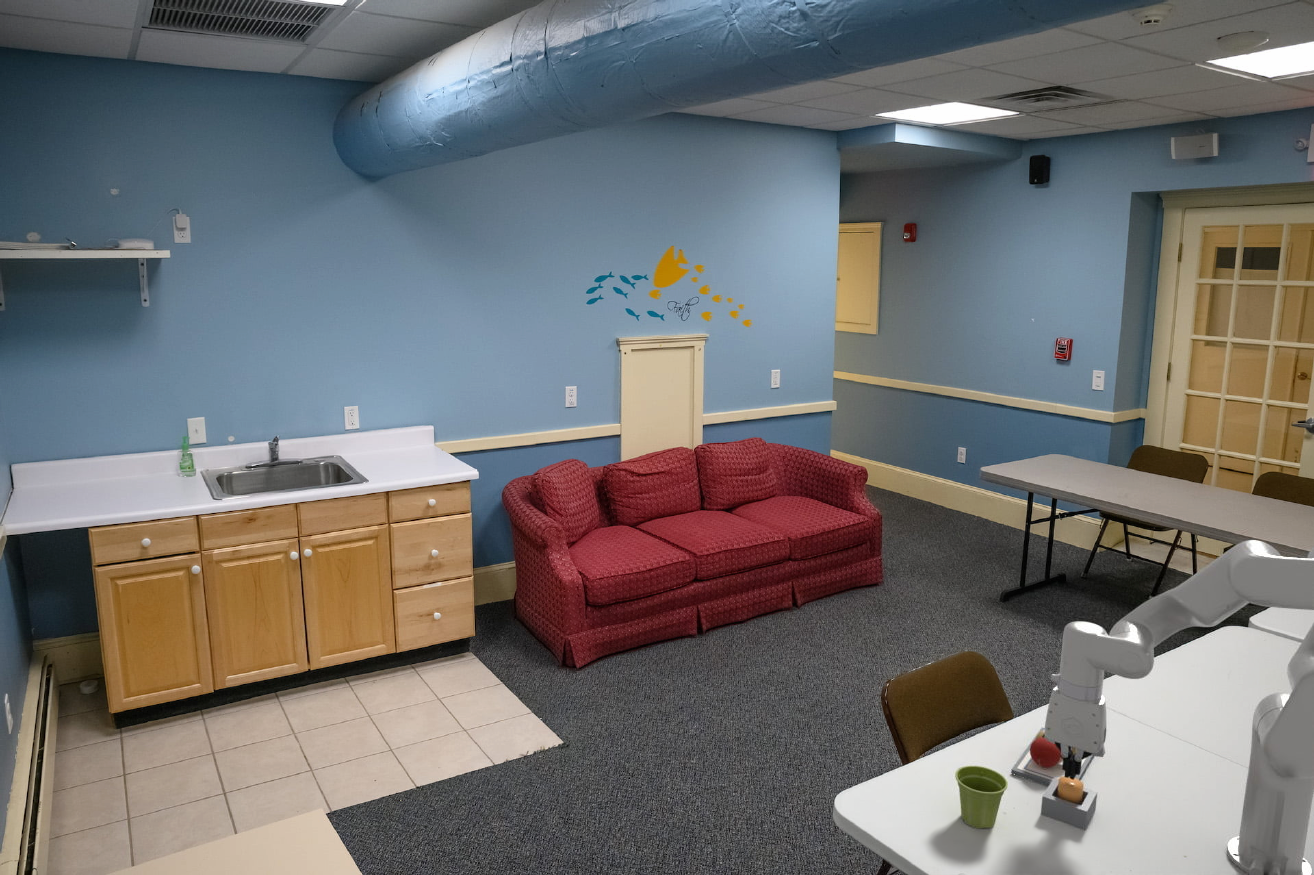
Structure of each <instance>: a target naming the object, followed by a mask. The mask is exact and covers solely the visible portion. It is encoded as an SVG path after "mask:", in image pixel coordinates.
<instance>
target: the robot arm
mask: <svg viewBox="0 0 1314 875" xmlns="http://www.w3.org/2000/svg"><path fill="white" fill-rule="evenodd" d="M1248 604H1253V605H1257V606H1261V607H1267V608H1268V607H1270V608H1279V609H1291V610H1292V609H1293V610H1308V611H1314V546H1313V547H1312V549H1311V550H1310V551H1308V554H1307V557H1306V558H1303V557H1302V558H1298V557H1286V556H1282V555H1281V553H1280V552H1279V551H1278V550H1277V549H1276V548H1275V547H1273V546H1272V545H1270V544H1268V543H1267V542H1265V541H1261V540H1257V539H1256V540H1255V539H1250V540H1244V541H1242V542H1240V543H1237V544H1236V545H1233V547H1231V548H1230V549H1228V550H1227V551H1225V552H1224V553H1223V554H1221V555H1219V556H1218V557H1217V558H1215V559H1214V560H1213V561H1211V563H1209V564H1207V565H1206V566H1204V567H1203V568H1201V569H1200V570H1199V571H1198V572H1196V573H1194V575H1192V576H1190V577H1189V578H1188V579H1186V580H1185V581H1183V582H1182V583H1180V584H1179V585H1178V586H1176V587H1174V588H1171V589H1169V590H1166V591H1165V592H1163V593H1161V594H1157V595H1156V596H1153V597H1152V598H1150V599H1148V600H1146V601H1144V602H1143V603H1142V604H1140V605H1138V606H1137V607H1135V609H1133V610H1132V611H1130V612H1129V613H1128V614H1126V615H1125V616H1124V617H1122V618H1121V619H1120V620H1119V619H1118V621H1117V622H1116V623H1115V624H1114V625H1113V627H1112V628H1111V630H1110V631H1109V633H1108V632H1107V630H1105V628H1104V627H1102V626H1100V625H1098V624H1096V623H1093V622H1089V621H1084V620H1083V621H1081V620H1080V621H1079V620H1078V621H1071V622H1069V623H1067V624H1066V625H1065V626H1064V629H1063V634H1062V635H1063V636H1062V644H1061V645H1062V646H1061V653H1060V654H1061V655H1060V665H1059V673H1057V674H1055V673H1052V674H1050V681H1052V682H1054V683H1055V684H1056V686H1055V687H1053V689H1052V691H1051V694H1050V698H1049V702H1048V706H1047V712H1046V717H1045V722H1044V728H1045V730H1044V733H1045V735H1044V738H1045V739H1046V740H1048V741H1049V742H1051V743H1054V744H1055V745H1056V746H1057V748H1058V749H1059V750H1060V752H1061V754H1062V756H1063V766H1062V770H1065V776H1064V777H1066V778H1070V779H1072V780H1074V778H1075V776H1076V775H1079V774H1080V772H1081V764H1082V760H1083V759H1085V758H1087V757H1089V756H1094V757H1097V758H1099V757H1100V758H1103V757H1105V754H1106V748H1105V742H1106V739H1107V738H1106V737H1107V704H1106V698H1105V697H1104V695H1103V686H1104V678H1105V672H1107V673H1109V674H1113V675H1115V676H1118V677H1121V678H1125V679H1128V680H1139V679H1143V678H1145V677H1147V676H1149V675H1150V673H1151V672H1152V670H1153V669H1154V665H1155V655H1154V653H1155V651H1154V648H1155V647H1157V646H1158V645H1160V644H1161V643H1162V642H1164V641H1165V640H1167V639H1168V638H1169V637H1171V636H1173V635H1175V634H1176V633H1178V632H1180V631H1182V630H1185V629H1187V628H1192V627H1201V628H1211V627H1212V628H1213V627H1215V626H1217V625H1220V624H1221V623H1222V622H1223V621H1224V620H1226V619H1227V618H1229V617H1231V616H1232V615H1234V614H1235V613H1236V612H1237V611H1240V610H1241V609H1242V608H1244V607H1245V606H1246V605H1248ZM1286 674H1287V679H1288V681H1289V682H1288V683H1289V685H1290V688H1291V692H1290V693H1289V692H1275V693H1271V694H1269V695H1267V696H1265V697H1264V698H1262V699H1261V700H1260V701H1259V702H1258V704H1257V705H1256V706H1255V709H1254V712H1253V717H1252V728H1251V741H1250V744H1251V746H1250V755H1249V756H1250V757H1249V763H1248V769H1247V770H1248V772H1247V776H1246V783H1245V785H1246V786H1245V792H1244V798H1243V803H1242V804H1243V806H1242V813H1241V820H1240V826H1239V827H1240V828H1239V834H1238V836H1235V837H1233V838H1232V839H1230V840H1229V841H1228V842H1227V846H1226V854H1227V856H1228V858H1229V859H1230V861H1231V862H1232V863H1234V865H1235V866H1236V867H1238V868H1239V869H1241V870H1242V871H1243V872H1245V873H1246V874H1248V875H1313V868H1312V866H1311V864H1310V863H1309V862H1308V860H1307V859H1305V858H1304V856H1305V849H1306V842H1307V837H1308V836H1307V835H1308V829H1309V822H1310V817H1311V816H1310V815H1311V809H1312V805H1313V803H1312V802H1313V799H1314V798H1313V796H1314V622H1313V623H1312V625H1311V627H1310V628H1309V630H1308V632H1307V633H1306V635H1305V637H1304V639H1303V640H1302V641H1301V644H1300V645H1299V647H1298V648H1297V649H1296V652H1295V653H1294V654H1293V656H1292V657H1291V658H1290V660H1289V662H1288V664H1287V672H1286ZM1072 747H1073V748H1076V749H1077V751H1076V753H1075V755H1074V754H1073V752H1072ZM1069 776H1070V777H1069Z"/></svg>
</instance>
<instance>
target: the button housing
mask: <svg viewBox="0 0 1314 875" xmlns="http://www.w3.org/2000/svg"><path fill="white" fill-rule="evenodd" d="M1058 782H1059V779H1056V778H1054V779H1053V780H1052V782H1051V783H1050V785H1049V786H1047V788H1046V790H1045V791H1044V793H1043V795H1042V797H1041V806H1040V808H1041V809H1040V816H1043V817H1046V818H1049V819H1052V820H1054V821H1057V822H1059V823H1062V824H1065V825H1069V826H1071V827H1074V828H1076V829H1080V830H1082V831H1086V830H1087V828H1088V825H1089V824H1090V822H1091V820H1092V818H1093V816H1094V814H1095V813H1096V809H1097V808H1096V807H1097V801H1098V800H1097V799H1098V798H1097V797H1098V791H1095V790H1092V789H1090V788H1087V787H1083V797H1082V802H1080V803H1077V804H1075V803H1072V802H1069V801H1066V800H1063V799H1060V798H1059V797H1058V795H1057V792H1058Z"/></svg>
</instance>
